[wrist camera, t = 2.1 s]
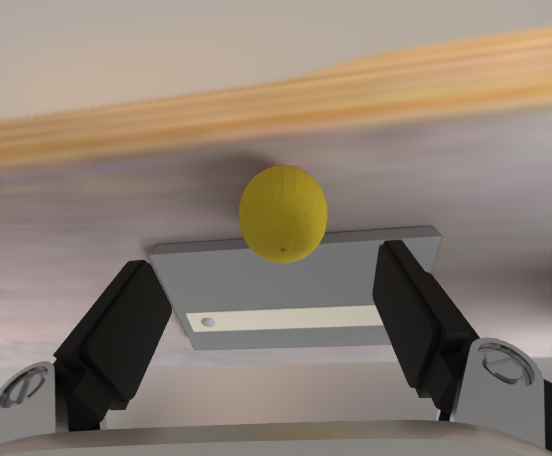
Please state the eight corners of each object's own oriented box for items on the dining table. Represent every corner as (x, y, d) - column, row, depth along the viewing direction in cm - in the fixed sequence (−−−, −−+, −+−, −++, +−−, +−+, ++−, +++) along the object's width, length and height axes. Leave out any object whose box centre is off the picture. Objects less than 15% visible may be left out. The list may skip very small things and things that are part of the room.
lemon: (272, 228, 21) (265, 302, 14) (233, 175, 19) (203, 232, 12) (331, 199, 19) (356, 265, 12) (297, 135, 17) (305, 176, 10)
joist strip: (411, 302, 23) (412, 304, 23) (405, 323, 25) (406, 324, 24) (185, 312, 25) (185, 314, 25) (194, 331, 26) (193, 332, 26)
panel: (432, 225, 20) (442, 235, 19) (404, 331, 28) (409, 343, 26) (156, 244, 22) (148, 255, 21) (198, 338, 30) (194, 350, 28)
